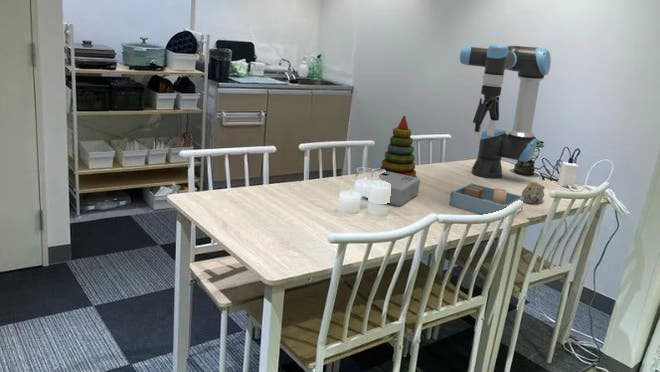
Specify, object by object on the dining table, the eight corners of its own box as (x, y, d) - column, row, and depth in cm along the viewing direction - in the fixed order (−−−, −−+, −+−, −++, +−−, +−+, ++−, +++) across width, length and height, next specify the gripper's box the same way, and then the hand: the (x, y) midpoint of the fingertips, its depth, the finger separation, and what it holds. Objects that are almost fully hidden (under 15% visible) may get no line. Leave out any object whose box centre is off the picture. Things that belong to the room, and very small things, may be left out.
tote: (469, 195, 241) (471, 183, 239) (521, 210, 227) (524, 196, 225) (449, 204, 226) (451, 191, 224) (504, 220, 212) (506, 206, 210)
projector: (419, 195, 236) (421, 178, 234) (400, 208, 218) (402, 189, 215) (384, 187, 244) (385, 170, 241) (362, 199, 225) (364, 181, 223)
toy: (374, 170, 268) (380, 110, 259) (413, 173, 269) (421, 113, 261) (378, 182, 249) (385, 117, 241) (421, 185, 251) (430, 120, 242)
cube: (469, 198, 233) (471, 185, 232) (482, 202, 230) (484, 188, 228) (462, 201, 229) (464, 188, 227) (475, 205, 225) (478, 191, 224)
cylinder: (493, 206, 226) (497, 187, 224) (505, 209, 223) (508, 190, 221) (489, 208, 222) (492, 190, 220) (500, 212, 220) (504, 193, 217)
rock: (530, 203, 232) (537, 181, 232) (517, 201, 238) (523, 179, 238) (546, 209, 239) (552, 187, 239) (533, 206, 245) (539, 185, 245)
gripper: (495, 82, 227) (487, 132, 233) (469, 85, 208) (461, 139, 214) (512, 85, 222) (503, 135, 229) (488, 88, 203) (479, 143, 210)
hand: (483, 137), depth 221 cm, fingers open, 13 cm apart
